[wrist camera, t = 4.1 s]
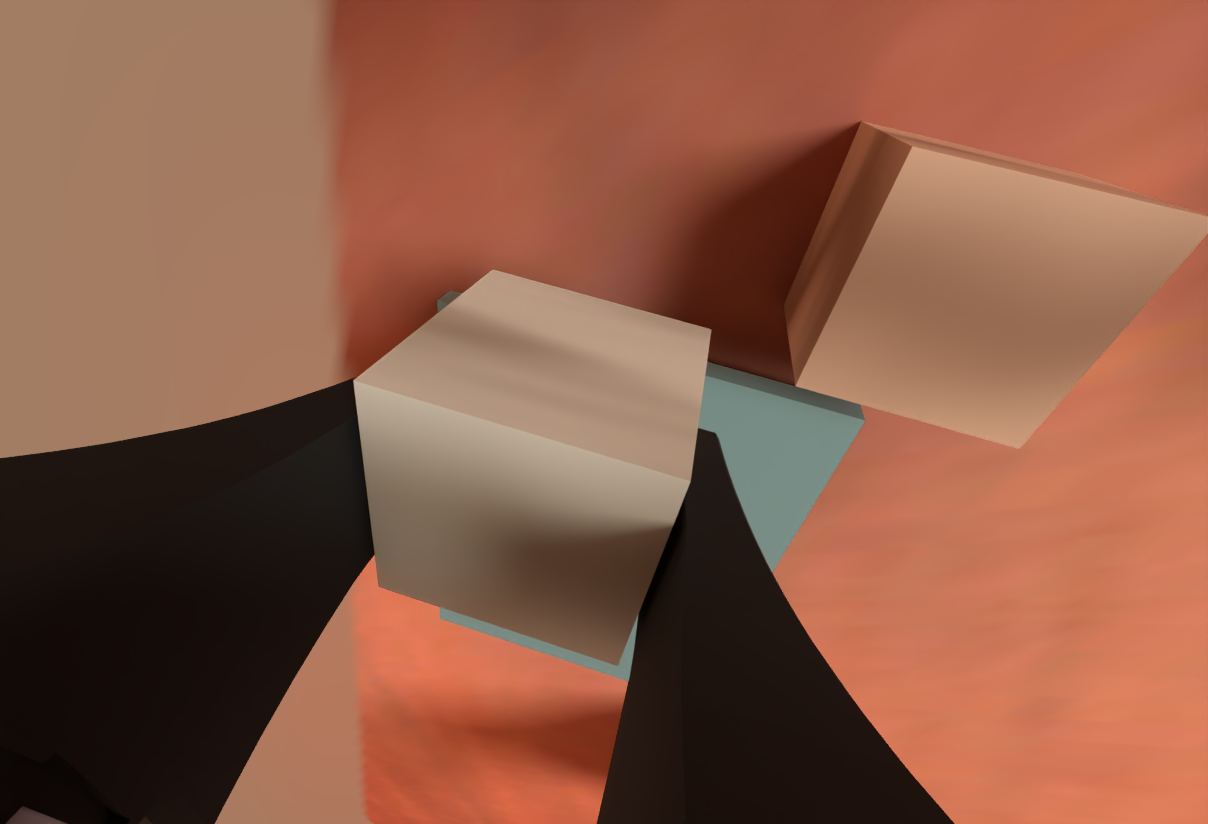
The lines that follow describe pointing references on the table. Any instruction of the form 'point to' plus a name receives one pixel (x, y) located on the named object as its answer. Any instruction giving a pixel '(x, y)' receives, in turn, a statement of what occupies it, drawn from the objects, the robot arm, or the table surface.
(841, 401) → the teal board
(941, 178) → the brown block
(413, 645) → the table surface
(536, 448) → the cream block
